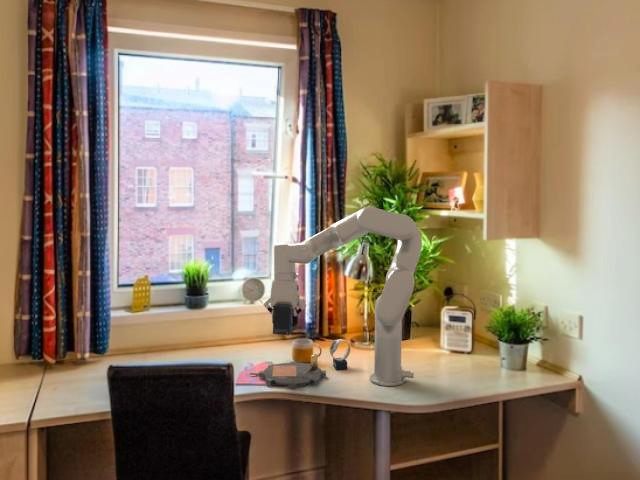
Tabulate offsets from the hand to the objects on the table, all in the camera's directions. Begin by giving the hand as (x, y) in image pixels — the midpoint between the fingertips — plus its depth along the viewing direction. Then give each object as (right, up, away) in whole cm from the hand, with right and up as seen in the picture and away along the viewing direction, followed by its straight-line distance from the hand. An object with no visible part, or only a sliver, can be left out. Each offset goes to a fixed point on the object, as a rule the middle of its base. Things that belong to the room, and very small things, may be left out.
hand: (285, 325), depth 201 cm
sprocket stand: (-3, -19, +2) cm, 19 cm away
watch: (+20, -19, +13) cm, 30 cm away
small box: (0, -2, 0) cm, 2 cm away
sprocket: (+3, -19, +1) cm, 20 cm away
